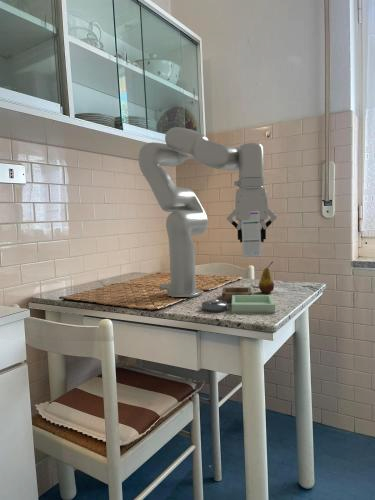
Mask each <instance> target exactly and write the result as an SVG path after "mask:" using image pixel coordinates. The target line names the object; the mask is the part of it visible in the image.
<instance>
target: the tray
mask: <svg viewBox="0 0 375 500" xmlns="http://www.w3.org/2000/svg"><path fill="white" fill-rule="evenodd" d="M231 313H243V314H244V313H251V314H255V313H256V314H257V313H258V314H259V313H260V314H261V313H263V314H275V313H276V304H275V301H274V298H273V296H272V295H271V294H267V295H266V294H252V295H232V302H231Z"/></svg>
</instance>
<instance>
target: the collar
mask: <svg viewBox="0 0 375 500" xmlns="http://www.w3.org/2000/svg"><path fill="white" fill-rule="evenodd" d="M232 295H253V294H252V289H251V286H250V287H249V286H246V287H244V286H243V287H239V286H238V287H236V286H235V287H234V286H232V287H228V286H227V287H225V286H224V287H222V292H221V301H225V302H227V303H232Z"/></svg>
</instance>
